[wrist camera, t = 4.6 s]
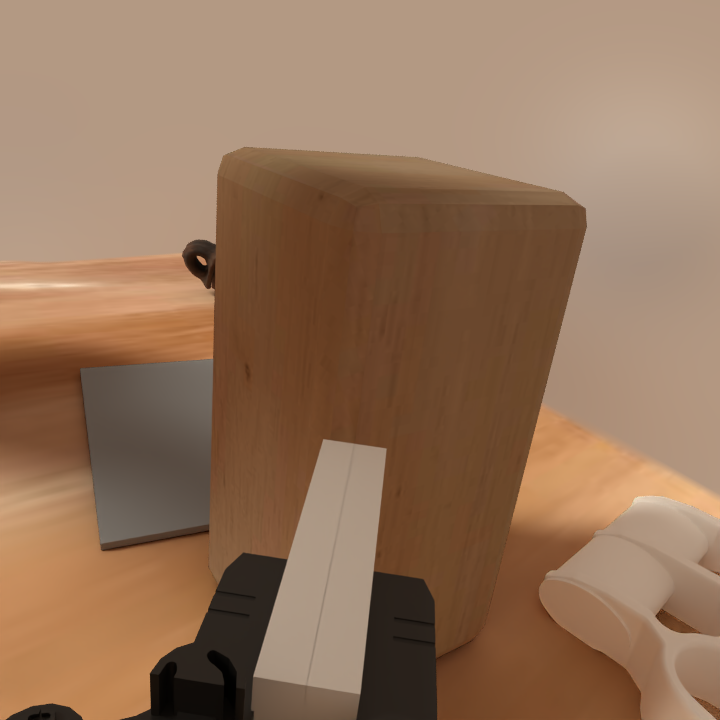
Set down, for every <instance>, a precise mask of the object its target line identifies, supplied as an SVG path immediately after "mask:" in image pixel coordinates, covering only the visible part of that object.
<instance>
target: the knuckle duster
mask: <svg viewBox="0 0 720 720" xmlns="http://www.w3.org/2000/svg"><path fill="white" fill-rule="evenodd" d="M711 571H714V572H717V573H720V519H718V518H716V517H714V516H712V515H710V514H708V513H705V512H703V511H701V510H699V509H697V508H695V507H693V506H690V505H687V504H684V503H681V502H678V501H675V500H672V499H669V498H666V497H663V496H644V497H636V498H635V499H634V500H633V502H632V505H631V506H630V507H629V508H628V509H627V510H626V511H625V512H623V513H622V514H621V515H620V516H619V517H618V518H616V519H615V520H614V521H613V522H612V523H611V524H610V525H608V526H607V527H606V528H605V529H604V530H597V531H596V532H595V533H594V535H593V538H592V540H591V541H590V542H589V543H587V544H586V545H585V546H584V547H583V548H582V549H580V550H579V551H578V552H577V553H576V554H575V555H574V556H572V557H571V558H570V559H569V560H568V561H567V562H565V563H564V564H563V565H562V566H561V567H560V568H558V569H557V570H550V571H549V572H548V573H547V574H546V575H545V578H544V581H543V582H542V583H541V585H540V587H539V597H540V600H541V603H542V605H543V606H544V608H545V609H546V610H547V612H548V613H549V615H550V616H551V617H552V618H553V619H554V620H555V622H556V623H557V624H558V625H560V626H561V627H562V628H564V629H565V630H567V631H568V632H570V633H571V634H573V635H574V636H575V637H577V638H578V639H580V640H581V641H583V642H584V643H586V644H587V645H588V646H590V647H591V648H593V649H596V650H598V651H601V652H603V653H604V654H605V655H607V656H608V657H610V658H611V659H613V660H614V661H616V662H617V663H618V664H620V665H621V666H623V667H624V668H625V669H626V670H627V671H628V673H629V674H630V676H631V677H632V679H633V681H634V682H635V684H636V685H637V687H638V688H639V690H640V692H641V700H640V713H641V719H642V720H716V719H715V718H714V717H713V716H712V715H711V714H710V713H709V712H708V711H707V710H706V709H705V708H704V707H703V706H701V705H700V704H699V703H698V702H697V701H696V700H695V699H694V698H693V697H696V698H699V699H702V700H704V701H706V702H708V703H710V704H712V705H713V706H715V707H716V708H718V709H719V710H720V576H718V575H717V574H715V573H713V572H711ZM660 609H662V610H664V611H666V612H667V613H669V614H671V615H672V616H674V617H676V618H677V619H679V620H681V621H682V622H684V623H686V624H687V625H689V626H691V627H692V628H694V629H695V630H697V631H699V632H700V633H702V634H697V633H678V632H675V631H672V630H670V629H668V628H667V627H665V626H664V625H663V624H661V623H660V622H659V621H658V619H657V618H656V617H655V616H656V614H657V613H658V612H659V611H660ZM692 696H693V697H692Z"/></svg>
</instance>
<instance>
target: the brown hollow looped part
mask: <svg viewBox="0 0 720 720" xmlns="http://www.w3.org/2000/svg"><path fill="white" fill-rule="evenodd" d="M197 256H201V257H203V258H204V259H205V260H206V263H207V265H202V264H201V262H200V261H199V260H198V259H197ZM182 257H183V258H184V262H185V264H186V266H187V268H188V269H189V271H190V272H191V273H192V274H193V275H194V276H196V277H198V278H199V279H201V280H202V282H203V283H204V285H205V287H206V288H207V289H210V288H211V282H212V288H215V263H216V245H215V244H213V243H211V242H209V241H206V240H194V241H192V242H190V243H189V244H187V246H186V248H185V250H184V251H183V254H182Z"/></svg>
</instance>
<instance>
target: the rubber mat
mask: <svg viewBox="0 0 720 720" xmlns="http://www.w3.org/2000/svg"><path fill="white" fill-rule="evenodd" d="M80 374H81V382H82V391H83V399H84V408H85V417H86V425H87V434H88V442H89V451H90V459H91V468H92V476H93V485H94V493H95V502H96V510H97V519H98V528H99V536H100V545H101V550H105V549H110V548H116V547H121V546H127V545H132V544H138V543H143V542H148V541H154V540H159V539H165V538H170V537H175V536H181V535H186V534H192V533H197V532H203V531H208V530H209V523H210V479H211V436H212V393H213V359H207V360H192V361H178V362H163V363H149V364H135V365H120V366H106V367H91V368H80Z"/></svg>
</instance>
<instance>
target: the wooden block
mask: <svg viewBox="0 0 720 720" xmlns="http://www.w3.org/2000/svg"><path fill="white" fill-rule="evenodd" d="M216 221H217V222H216V223H217V224H216V263H215V306H214V350H213V393H212V436H211V479H210V523H209V566H208V567H209V569H210V570H211V572H212V574H213V576H214V578H215V579H216V581H217V583H218V585H219V582H220V580H221V578H222V575H223V573H224V570H225V569H226V568H227V567H228V566H229V565H230V564H231V563H232V562H233V561H234V560H236V559H237V558H238V557H239V556H240V555H241V554H242V553H243V552H244V553H250V554H256V555H263V556H269V557H276V558H282V559H288V557H289V554H290V550H291V547H292V544H293V540H294V537H295V534H296V530H297V527H298V523H299V520H300V517H301V513H302V510H303V507H304V503H305V500H306V496H307V493H308V490H309V486H310V483H311V479H312V476H313V473H314V469H315V466H316V463H317V459H318V456H319V452H320V449H321V446H322V442H323V439H326V440H332V441H339V442H346V443H353V444H359V445H366V446H373V447H380V448H386V449H387V450H386V460H385V469H384V478H383V488H382V497H381V506H380V516H379V525H378V534H377V544H376V553H375V562H374V571H376V572H382V573H388V574H395V575H401V576H408V577H414V578H420V579H424V581H425V583H426V585H427V587H428V589H429V591H430V593H431V595H432V596H433V598H434V600H435V641H436V643H435V648H436V658H438V657H440V656H442V655H444V654H446V653H448V652H450V651H452V650H454V649H456V648H458V647H460V646H462V645H464V644H466V643H468V642H470V641H471V640H472V639H473V638H475V637H476V636H477V635H478V633H479V632H480V631H481V629H482V628H483V626H484V625H485V622H486V618H487V614H488V610H489V606H490V602H491V599H492V595H493V591H494V587H495V583H496V579H497V575H498V571H499V567H500V563H501V559H502V556H503V552H504V548H505V544H506V540H507V536H508V532H509V528H510V524H511V520H512V517H513V513H514V509H515V505H516V501H517V497H518V493H519V489H520V485H521V481H522V477H523V474H524V470H525V466H526V462H527V458H528V454H529V450H530V446H531V442H532V438H533V434H534V431H535V427H536V423H537V419H538V415H539V411H540V407H541V403H542V399H543V395H544V392H545V387H546V384H547V380H548V376H549V372H550V368H551V363H552V360H553V356H554V352H555V349H556V344H557V340H558V337H559V333H560V329H561V325H562V321H563V317H564V313H565V309H566V306H567V302H568V298H569V294H570V290H571V286H572V282H573V278H574V274H575V270H576V266H577V263H578V258H579V255H580V251H581V247H582V243H583V239H584V235H585V231H586V227H587V223H586V209H585V208H584V207H583V206H581V205H580V204H578V203H577V202H576V201H574V200H573V199H572V198H571V197H569V196H568V195H567V194H565V193H564V192H561V191H557V190H552V189H548V188H544V187H540V186H536V185H532V184H527V183H523V182H519V181H515V180H510V179H506V178H502V177H498V176H494V175H490V174H485V173H481V172H477V171H473V170H469V169H465V168H461V167H456V166H452V165H448V164H444V163H440V162H435V161H431V160H427V159H423V158H418V157H403V156H387V155H370V154H353V153H337V152H319V151H302V150H286V149H267V148H253V147H244V148H241V149H238V150H236V151H233V152H231V153H228V154H226V155H224V156H223V158H222V161H221V164H220V167H219V170H218V177H217V220H216Z"/></svg>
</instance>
